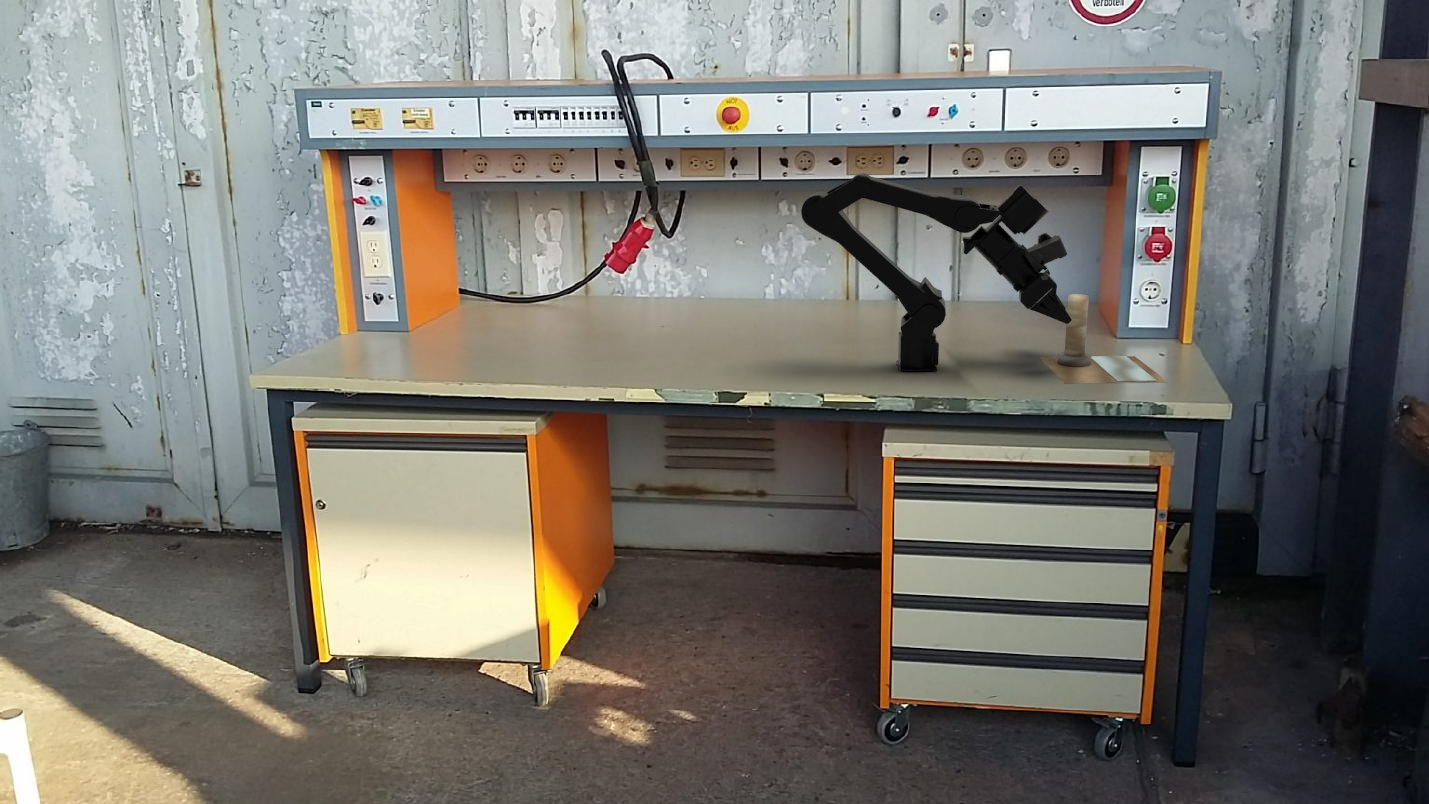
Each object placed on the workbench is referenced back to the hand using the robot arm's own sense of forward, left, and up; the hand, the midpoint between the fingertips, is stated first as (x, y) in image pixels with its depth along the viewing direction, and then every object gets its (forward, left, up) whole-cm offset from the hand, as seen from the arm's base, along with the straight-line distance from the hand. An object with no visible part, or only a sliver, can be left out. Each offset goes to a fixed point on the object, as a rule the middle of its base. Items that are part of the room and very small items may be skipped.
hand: (1066, 316), depth 213 cm
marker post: (+2, 0, -8) cm, 8 cm away
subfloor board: (+5, -5, -10) cm, 12 cm away
